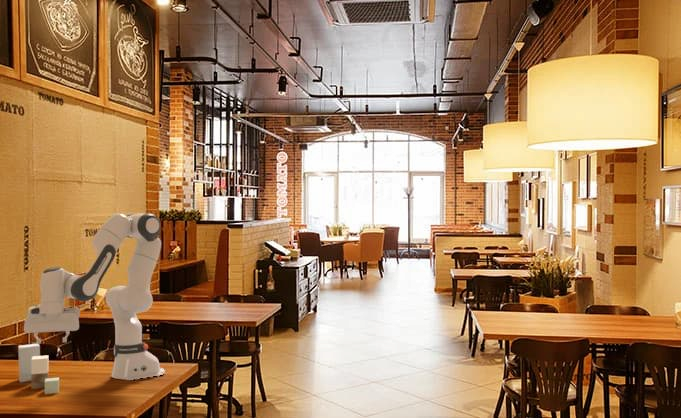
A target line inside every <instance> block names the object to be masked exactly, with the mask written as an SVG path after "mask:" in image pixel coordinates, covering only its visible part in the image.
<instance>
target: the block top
mask: <svg viewBox="0 0 681 418" xmlns="http://www.w3.org/2000/svg"><path fill="white" fill-rule="evenodd" d="M43 373H48V374H49V355H46V354H45V355H40V356H33V357H32V360H31V374H43Z"/></svg>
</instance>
